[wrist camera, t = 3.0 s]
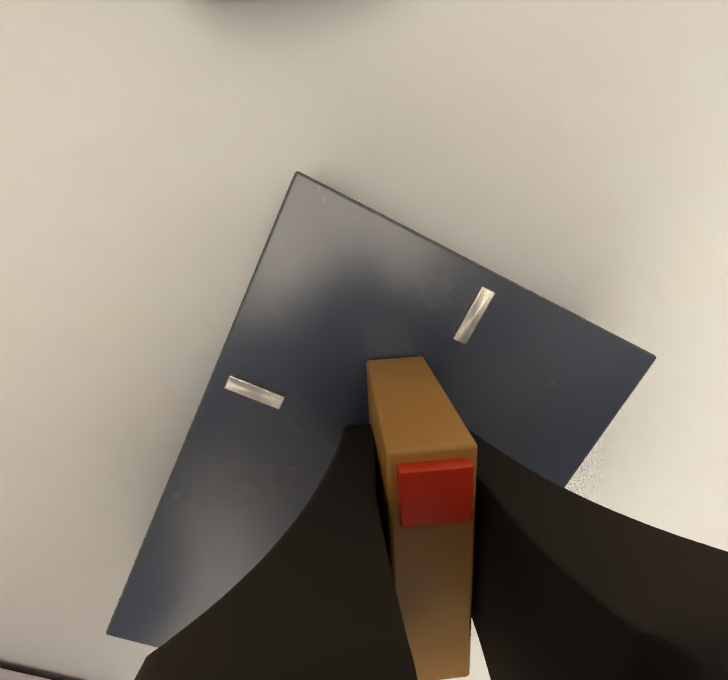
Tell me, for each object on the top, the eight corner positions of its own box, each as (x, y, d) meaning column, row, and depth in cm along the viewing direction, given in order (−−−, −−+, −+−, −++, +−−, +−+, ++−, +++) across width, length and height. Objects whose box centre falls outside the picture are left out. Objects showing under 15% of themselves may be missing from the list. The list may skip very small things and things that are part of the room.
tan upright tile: (425, 523, 11) (474, 692, 7) (375, 527, 11) (397, 702, 7) (423, 354, 10) (485, 453, 6) (365, 359, 10) (388, 461, 6)
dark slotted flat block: (393, 626, 17) (406, 717, 14) (148, 553, 15) (101, 640, 12) (588, 325, 13) (663, 359, 10) (305, 180, 11) (295, 169, 8)
